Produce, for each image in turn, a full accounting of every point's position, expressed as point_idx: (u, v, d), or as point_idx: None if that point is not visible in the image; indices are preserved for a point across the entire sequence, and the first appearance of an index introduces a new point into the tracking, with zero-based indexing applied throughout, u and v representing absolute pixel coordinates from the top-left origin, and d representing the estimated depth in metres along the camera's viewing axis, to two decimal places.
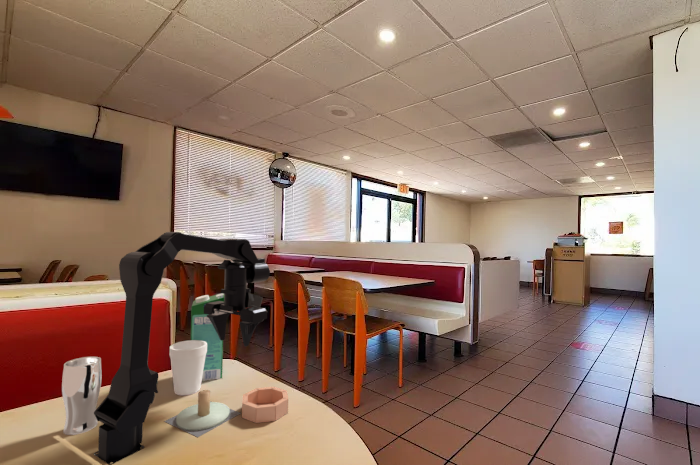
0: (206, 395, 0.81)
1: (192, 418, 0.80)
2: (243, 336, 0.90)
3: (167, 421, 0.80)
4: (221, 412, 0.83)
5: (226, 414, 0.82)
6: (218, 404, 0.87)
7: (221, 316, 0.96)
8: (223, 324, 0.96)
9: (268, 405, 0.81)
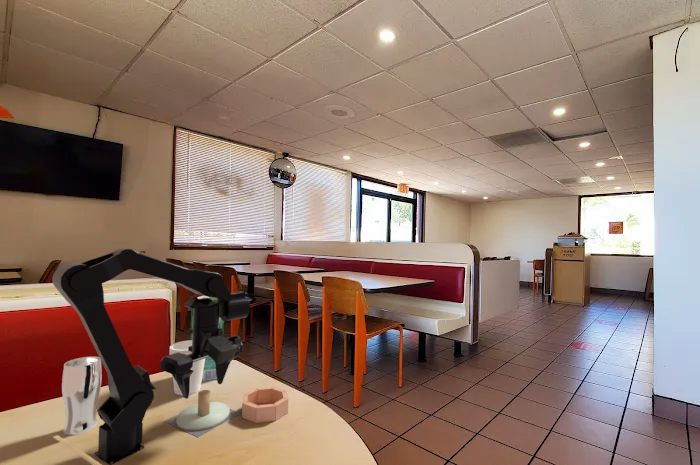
0: (206, 395, 0.81)
1: (192, 418, 0.80)
2: None
3: (167, 421, 0.80)
4: (221, 412, 0.83)
5: (226, 414, 0.82)
6: (218, 404, 0.87)
7: None
8: (221, 366, 0.86)
9: (268, 405, 0.81)
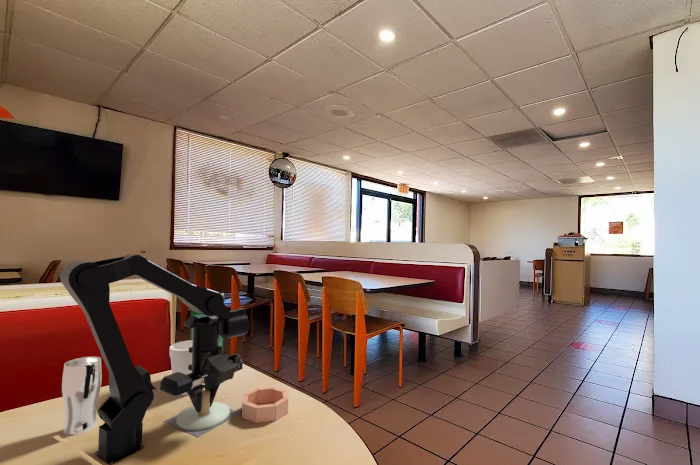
0: (206, 395, 0.81)
1: (192, 418, 0.80)
2: None
3: (167, 421, 0.80)
4: (221, 412, 0.83)
5: (226, 414, 0.82)
6: (218, 404, 0.87)
7: (211, 378, 0.84)
8: (211, 389, 0.83)
9: (268, 405, 0.81)
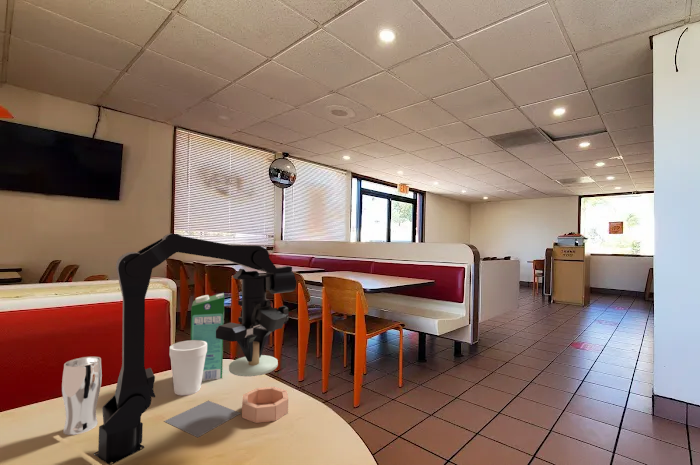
0: (256, 345, 0.85)
1: (244, 366, 0.83)
2: None
3: (167, 421, 0.80)
4: (270, 362, 0.86)
5: (276, 363, 0.85)
6: (265, 356, 0.90)
7: (259, 331, 0.87)
8: (259, 340, 0.87)
9: (268, 405, 0.81)
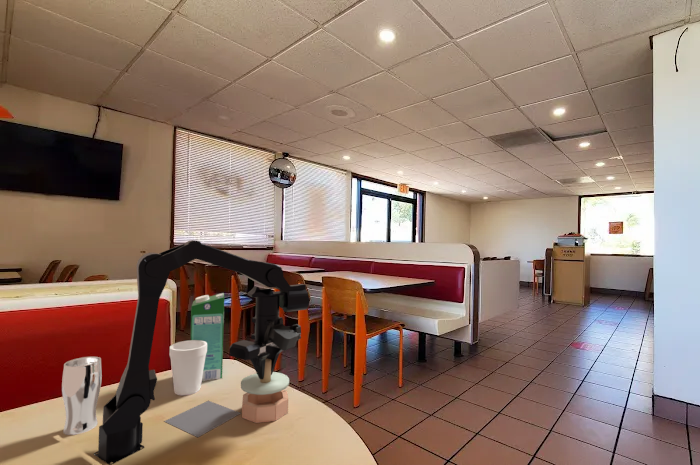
0: (268, 363, 0.85)
1: (256, 384, 0.83)
2: None
3: (167, 421, 0.80)
4: (282, 380, 0.86)
5: (287, 381, 0.86)
6: (276, 373, 0.90)
7: (271, 348, 0.88)
8: (271, 358, 0.87)
9: (268, 405, 0.81)
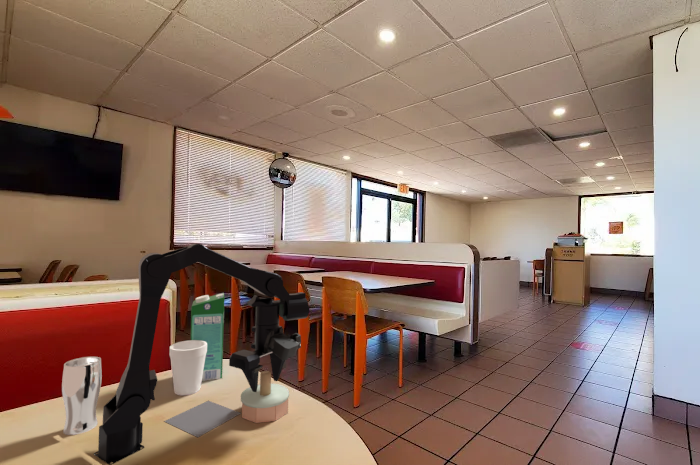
0: (268, 375, 0.85)
1: (256, 397, 0.83)
2: None
3: (167, 421, 0.80)
4: (281, 392, 0.86)
5: (287, 394, 0.86)
6: (276, 385, 0.90)
7: (277, 354, 0.90)
8: (277, 364, 0.89)
9: None
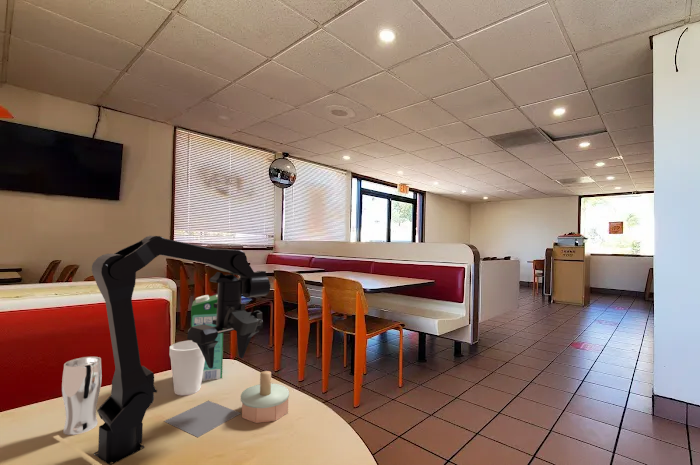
0: (268, 375, 0.85)
1: (256, 397, 0.83)
2: None
3: (167, 421, 0.80)
4: (281, 392, 0.86)
5: (287, 394, 0.86)
6: (276, 385, 0.90)
7: None
8: (243, 341, 0.90)
9: None
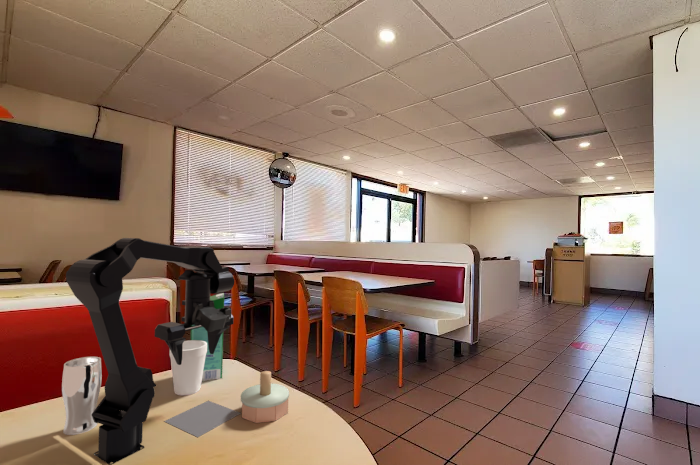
0: (268, 375, 0.85)
1: (256, 397, 0.83)
2: None
3: (167, 421, 0.80)
4: (281, 392, 0.86)
5: (287, 394, 0.86)
6: (276, 385, 0.90)
7: None
8: (213, 337, 0.91)
9: None
